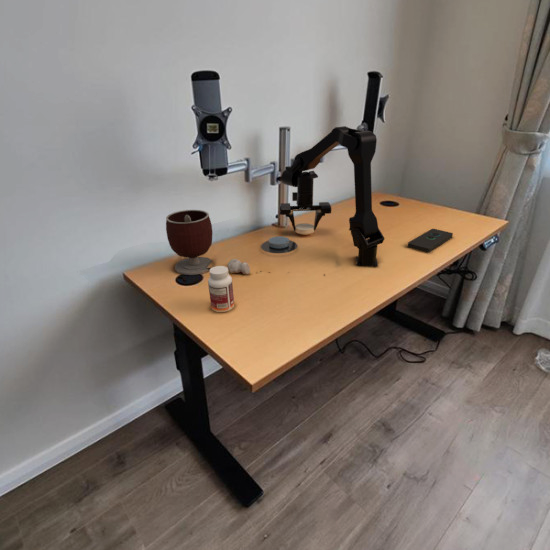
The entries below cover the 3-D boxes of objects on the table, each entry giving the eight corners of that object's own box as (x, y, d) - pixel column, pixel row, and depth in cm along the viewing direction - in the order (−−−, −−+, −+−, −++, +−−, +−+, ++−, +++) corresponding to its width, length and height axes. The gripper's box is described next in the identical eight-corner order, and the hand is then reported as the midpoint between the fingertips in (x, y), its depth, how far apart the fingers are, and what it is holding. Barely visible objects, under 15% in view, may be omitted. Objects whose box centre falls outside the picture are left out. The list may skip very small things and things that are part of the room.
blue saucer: (287, 250, 127) (287, 244, 126) (267, 249, 128) (267, 243, 127) (290, 242, 133) (290, 236, 132) (270, 241, 134) (270, 235, 133)
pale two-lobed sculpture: (226, 273, 117) (237, 264, 119) (242, 281, 112) (253, 271, 114) (221, 263, 114) (233, 254, 117) (237, 270, 109) (249, 260, 112)
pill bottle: (224, 298, 101) (220, 262, 96) (239, 306, 98) (236, 268, 92) (206, 307, 97) (201, 270, 92) (221, 315, 94) (217, 277, 88)
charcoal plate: (295, 257, 124) (295, 254, 124) (257, 255, 126) (257, 252, 126) (299, 242, 136) (299, 239, 135) (264, 241, 138) (264, 238, 137)
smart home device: (454, 232, 136) (429, 248, 124) (453, 237, 137) (428, 253, 125) (432, 227, 141) (406, 242, 129) (431, 232, 142) (406, 246, 130)
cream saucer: (313, 235, 136) (313, 230, 135) (294, 235, 137) (294, 229, 136) (314, 229, 142) (314, 223, 141) (296, 228, 143) (296, 223, 142)
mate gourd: (173, 260, 125) (163, 202, 115) (214, 255, 127) (207, 198, 118) (172, 281, 111) (161, 217, 102) (218, 275, 114) (211, 212, 105)
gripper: (328, 183, 139) (326, 222, 146) (278, 184, 139) (279, 224, 146) (332, 190, 129) (330, 232, 136) (279, 192, 129) (280, 234, 136)
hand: (304, 230), depth 139 cm, fingers closed on cream saucer, 7 cm apart
